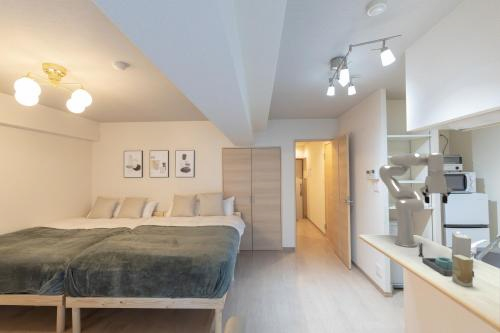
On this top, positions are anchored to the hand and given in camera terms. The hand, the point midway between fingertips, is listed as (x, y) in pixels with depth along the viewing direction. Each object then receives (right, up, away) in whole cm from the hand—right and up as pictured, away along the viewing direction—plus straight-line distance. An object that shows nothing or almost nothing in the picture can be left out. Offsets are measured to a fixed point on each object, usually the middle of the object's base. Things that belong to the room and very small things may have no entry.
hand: (435, 203), depth 145 cm
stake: (-6, -32, +3) cm, 33 cm away
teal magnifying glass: (-6, -32, -17) cm, 36 cm away
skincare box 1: (+8, -32, -8) cm, 34 cm away
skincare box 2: (-11, -32, -31) cm, 46 cm away
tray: (-6, -32, -15) cm, 36 cm away
